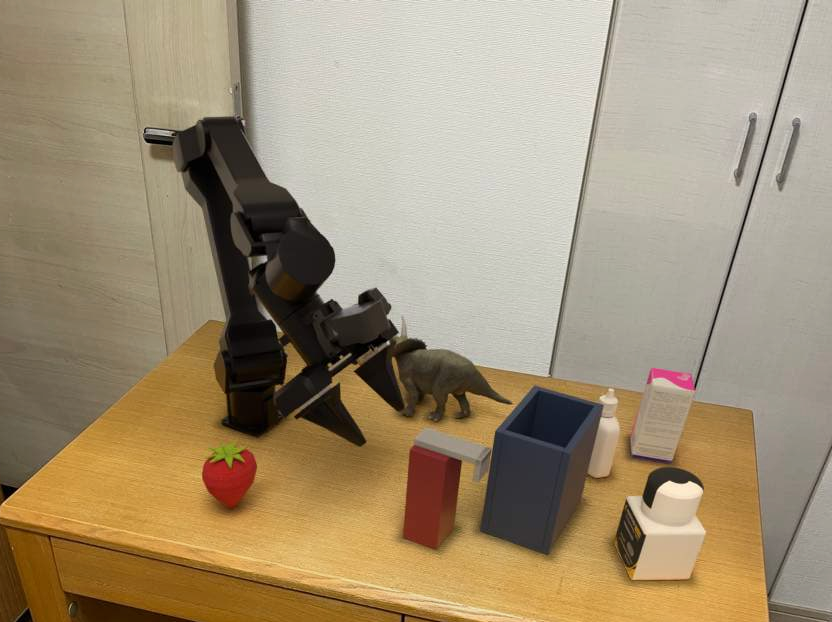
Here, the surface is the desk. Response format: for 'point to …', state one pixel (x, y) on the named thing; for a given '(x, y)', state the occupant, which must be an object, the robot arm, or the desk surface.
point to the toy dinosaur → (438, 376)
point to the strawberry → (229, 473)
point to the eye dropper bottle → (605, 437)
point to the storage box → (539, 468)
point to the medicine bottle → (662, 527)
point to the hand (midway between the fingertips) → (383, 426)
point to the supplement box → (661, 415)
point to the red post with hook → (437, 484)
